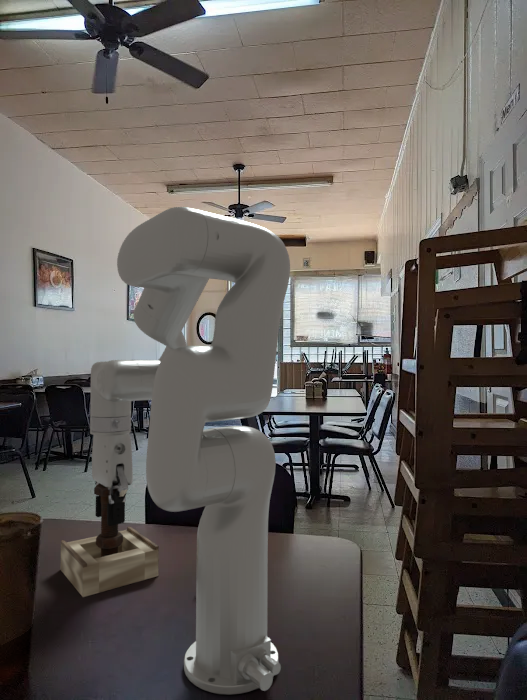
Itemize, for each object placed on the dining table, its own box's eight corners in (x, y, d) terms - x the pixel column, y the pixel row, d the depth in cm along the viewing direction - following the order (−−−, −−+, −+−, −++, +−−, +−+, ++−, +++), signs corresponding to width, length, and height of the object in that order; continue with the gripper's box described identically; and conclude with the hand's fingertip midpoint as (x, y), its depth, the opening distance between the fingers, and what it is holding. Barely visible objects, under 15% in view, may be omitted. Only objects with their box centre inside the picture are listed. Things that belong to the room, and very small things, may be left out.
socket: (158, 575, 92) (158, 546, 92) (82, 597, 84) (83, 564, 84) (129, 552, 103) (129, 526, 103) (60, 569, 95) (60, 540, 95)
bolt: (113, 571, 90) (114, 489, 90) (89, 568, 91) (90, 487, 91) (128, 558, 96) (129, 481, 96) (105, 556, 97) (106, 480, 97)
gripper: (147, 428, 90) (146, 527, 89) (113, 420, 103) (112, 506, 103) (107, 431, 85) (106, 536, 85) (77, 422, 99) (76, 512, 98)
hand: (109, 518), depth 94 cm, fingers closed on bolt, 5 cm apart
